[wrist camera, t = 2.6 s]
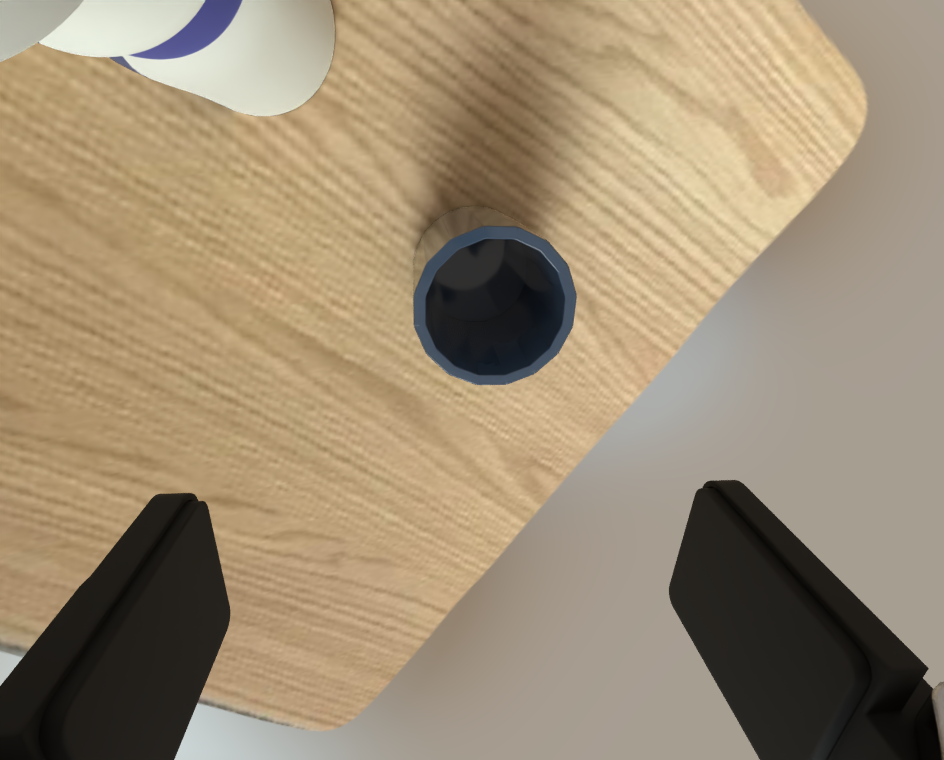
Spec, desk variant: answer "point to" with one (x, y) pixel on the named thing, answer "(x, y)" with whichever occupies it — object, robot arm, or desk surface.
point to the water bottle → (191, 43)
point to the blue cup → (490, 297)
